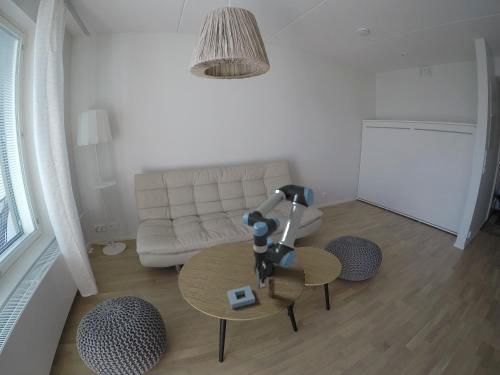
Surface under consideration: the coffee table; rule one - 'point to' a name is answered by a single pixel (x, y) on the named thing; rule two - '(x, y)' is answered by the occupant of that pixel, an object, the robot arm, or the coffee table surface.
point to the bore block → (243, 301)
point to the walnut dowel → (271, 287)
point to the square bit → (258, 277)
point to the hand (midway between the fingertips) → (260, 283)
